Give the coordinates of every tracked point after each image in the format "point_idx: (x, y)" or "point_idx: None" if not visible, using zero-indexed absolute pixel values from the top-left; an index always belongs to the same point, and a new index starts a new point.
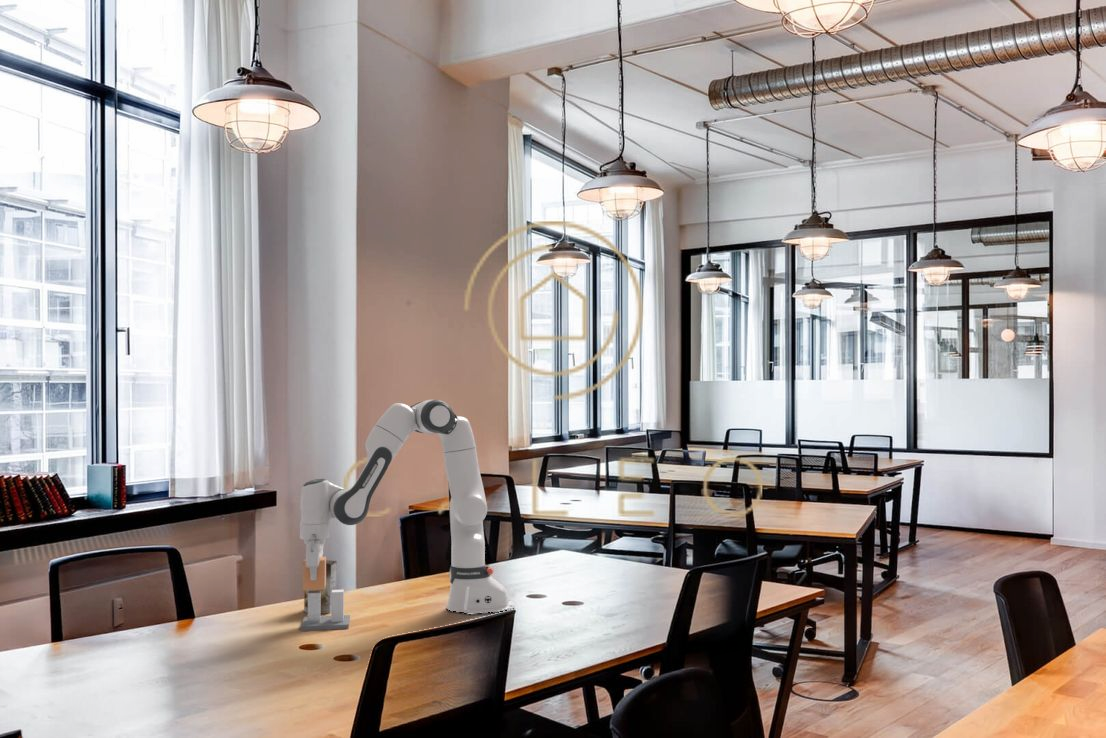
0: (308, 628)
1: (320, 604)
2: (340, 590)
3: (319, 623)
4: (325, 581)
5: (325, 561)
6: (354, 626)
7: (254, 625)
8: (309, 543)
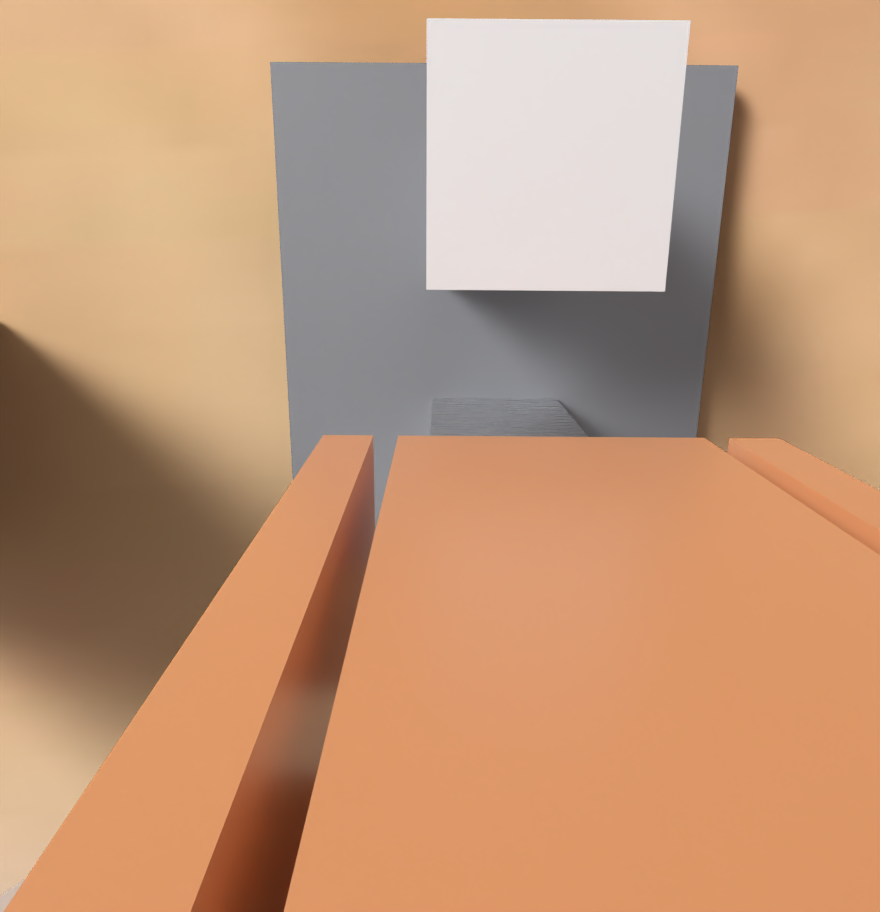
0: None
1: None
2: (523, 99)
3: (602, 399)
4: (514, 469)
5: None
6: (641, 5)
7: None
8: None
